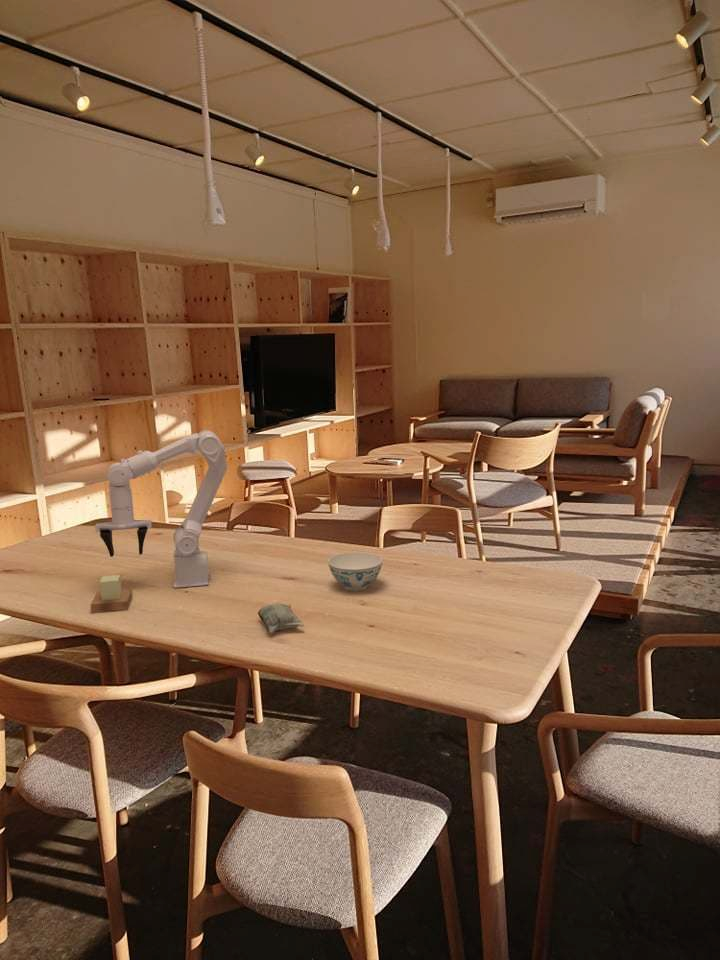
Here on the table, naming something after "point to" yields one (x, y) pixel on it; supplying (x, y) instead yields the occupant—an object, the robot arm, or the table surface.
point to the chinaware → (355, 569)
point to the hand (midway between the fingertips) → (126, 554)
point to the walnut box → (112, 603)
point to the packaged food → (279, 617)
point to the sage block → (110, 587)
